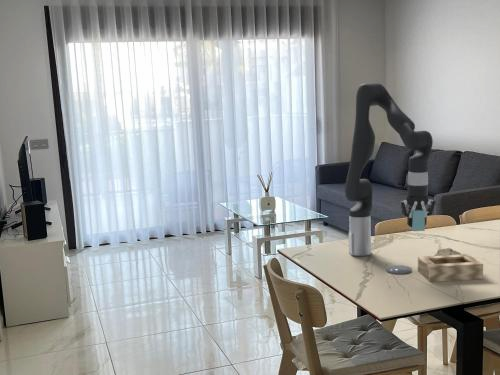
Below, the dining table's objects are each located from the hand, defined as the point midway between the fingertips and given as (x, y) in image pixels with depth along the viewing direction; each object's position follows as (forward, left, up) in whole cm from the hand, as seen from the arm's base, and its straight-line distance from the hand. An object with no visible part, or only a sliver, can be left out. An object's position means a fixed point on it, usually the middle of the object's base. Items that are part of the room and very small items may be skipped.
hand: (416, 226), depth 228 cm
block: (0, 0, -1) cm, 1 cm away
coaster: (-6, +3, -18) cm, 20 cm away
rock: (+18, +13, -19) cm, 29 cm away
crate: (+11, -6, -18) cm, 22 cm away
